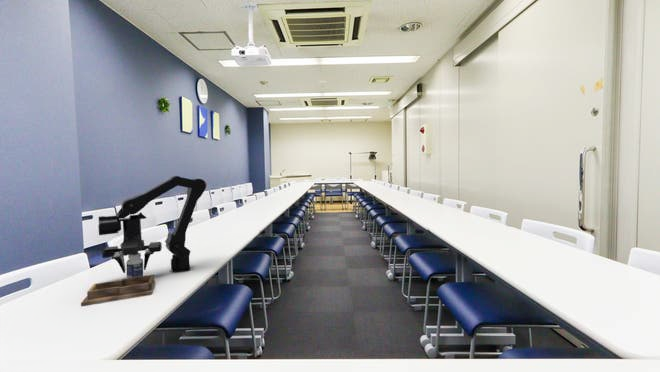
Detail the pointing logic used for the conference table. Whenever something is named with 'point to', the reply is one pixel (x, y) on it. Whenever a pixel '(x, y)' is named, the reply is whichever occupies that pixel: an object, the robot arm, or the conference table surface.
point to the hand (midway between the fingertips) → (134, 271)
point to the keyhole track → (119, 290)
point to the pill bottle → (134, 266)
